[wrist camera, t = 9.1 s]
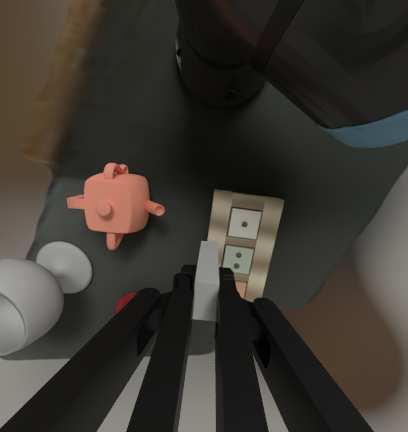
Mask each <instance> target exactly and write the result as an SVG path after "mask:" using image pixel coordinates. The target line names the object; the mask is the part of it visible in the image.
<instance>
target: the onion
mask: <svg viewBox="0 0 408 432" xmlns="http://www.w3.org/2000/svg"><path fill="white" fill-rule="evenodd" d="M136 294H137V293H136V292H130V293H127V294H125V295H123V296H122V297H121V298H120V299H119V300H118V303H117V305H116V307H115V315H116V314H117V313H118V312H119V311H120V310H121V309H122V308H123V307H124V306H125V305H126V304H127V303H128V302H129V301H130V300H131V299H132V298H133V297H134V296H135V295H136Z"/></svg>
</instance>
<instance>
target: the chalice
mask: <svg viewBox="0 0 408 432" xmlns="http://www.w3.org/2000/svg"><path fill="white" fill-rule="evenodd" d="M92 275H93V273H92V266H91V263H90V261H89V259H88V257H87V256H86V255H85V253H84V252H83V251H82V250H80V249H79V248H78V247H76V246H74V245H72V244H70V243H67V242H60V241H58V242H51V243H48V244H46V245H45V246H43V247H42V248H41V249H40V251H39V252H38V254H37V257H36V262H33V261H30V260H25V259H17V258H12V259H3V260H0V355H6V354H10V353H12V352H15V351H17V350H20V349H22V348H24V347H26V346H28V345H29V344H31V343H32V342H34V341H35V340H37V339H38V338H40V337H41V336H43V335H44V334H45V333H46V332H48V331H49V330H50V329H51V328H52V327H53V326H54V324H55V323H56V322H57V321H58V319H59V317H60V315H61V313H62V311H63V305H64V293H67V294H72V293H77V292H81V291H82V290H84V289H85V288H86V287H87V286H88V285H89V284H90V282H91V280H92Z"/></svg>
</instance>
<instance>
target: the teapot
mask: <svg viewBox="0 0 408 432" xmlns="http://www.w3.org/2000/svg"><path fill="white" fill-rule="evenodd" d="M114 170H115V171H116V172H117V173H114ZM67 204H68V208H76V209H85V216H86V221H87V225H88V227H89V229H90V230H94V231H100V232H107V247H108V249H110V250H115V249H116V248H117V247H118V246H119V244H120V242H121V240H122V237H123V235H124V233H132V232H137V231H139V230H141V229H143V228H144V227H145V226H146V224H147V221H148V216H149V213H152V214H154V215H157V216H161V215H163V213H164V211H165V209H164V207H163V206H162V205H160V204H157V203H155V202H152V201H150V193H149V185H148V181H147V179H146V178H145V177H143V176H140V175H135V174H128V167H127V166H126V165H124V164H121V165H120V166H119V165H118V164H115V163H109V164H107V165H106V166H105V169H104V173H100V174H96V175H94V176H92V177H90V178H89V179H88V180H86V182H85V188H84V195H78V196H74V197H70V198H67Z"/></svg>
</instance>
